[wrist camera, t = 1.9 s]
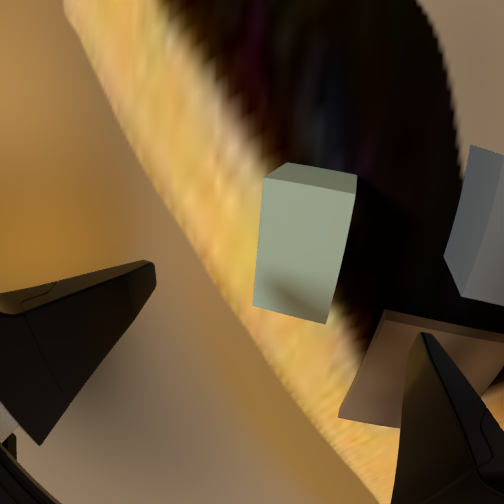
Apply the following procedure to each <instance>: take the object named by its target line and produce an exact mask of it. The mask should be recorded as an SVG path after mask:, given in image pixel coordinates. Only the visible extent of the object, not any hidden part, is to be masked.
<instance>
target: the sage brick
mask: <svg viewBox="0 0 504 504" xmlns="http://www.w3.org/2000/svg"><path fill="white" fill-rule="evenodd" d="M356 184H357V175H353V174H348V173H343V172H338V171H333V170H328V169H322V168H317V167H311V166H305V165H299V164H293V163H286V164H284V165H283V166H281V167H279V168H278V169H276V170H275V171H273V172H271V173H270V174H268V175H267V176H265V177H263V188H262V200H261V212H260V224H259V235H258V247H257V259H256V270H255V281H254V293H253V304H252V306H256V307H259V308H263V309H267V310H271V311H274V312H278V313H282V314H286V315H290V316H294V317H298V318H302V319H306V320H310V321H314V322H318V323H322V324H326V321H327V318H328V314H329V310H330V307H331V303H332V299H333V295H334V291H335V288H336V284H337V279H338V275H339V271H340V267H341V263H342V259H343V254H344V250H345V245H346V241H347V236H348V231H349V226H350V221H351V216H352V211H353V206H354V201H355V195H356Z"/></svg>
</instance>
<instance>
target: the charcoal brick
mask: <svg viewBox="0 0 504 504" xmlns="http://www.w3.org/2000/svg"><path fill="white" fill-rule="evenodd" d="M464 177H465V180H464V184H463V189H462V193H461V197H460V202H459V206H458V209H457V213H456V217H455V221H454V224H453V228H452V231H451V235H450V238H449V241H448V244H447V247H446V251H445V254H444V258H445V261H446V263H447V265H448V267H449V269H450V271H451V274H452V276H453V278H454V281H455V283H456V285H457V288H458V290H459V292H460V295H461V296H462V297H466V298H471V299H476V300H480V301H485V302H489V303H494V304H498V305H503V306H504V156H503V155H501V154H498V153H495V152H492V151H489V150H486V149H483V148H480V147H476V146H473V145H470V149H469V154H468V160H467V166H466V171H465V176H464Z"/></svg>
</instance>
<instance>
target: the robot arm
mask: <svg viewBox="0 0 504 504" xmlns="http://www.w3.org/2000/svg"><path fill="white" fill-rule="evenodd" d="M155 287H156V273H155V265H154V263H152V262H150V261H146V260H141V261H136V262H132V263H128V264H124V265H120V266H115V267H111V268H107V269H103V270H99V271H95V272H91V273H87V274H83V275H80V276H75V277H71V278H67V279H63V280H59V281H58V282H57V281H55V282H51V283H48V284H43V285H39V286H35V287H31V288H25V289H20V290H15V291H10V292H5V293H0V504H61V503H60V502H59V501H58V500H57V499H55V498H54V497H53V496H52V495H51V494H50V493H49V492H48V491H46V490H45V489H44V488H43V487H42V486H41V485H40V484H39V483H38V482H37V481H36V480H35V479H34V478H33V477H32V476H31V475H30V474H29V473H28V472H27V471H26V470H25V469H24V468H23V467H22V466H21V465H20V464H19V463H18V462H17V456H16V455H17V452H16V436H15V435H14V434H13V431H14V430H15V429H16V428H17V427H18V426H20V427H21V429H22V430H23V431H24V432H25V433H26V434H27V435H28V436H29V437H30V438H31V439H32V440H33V441H34V442H35V443H36V444H38V445H39V446H40V445H41V444H42V443H43V442H44V440H45V439H46V437H47V436H48V434H49V433H50V432H51V430H52V429H53V427H54V426H55V425H56V423H57V422H58V420H59V419H60V417H61V416H62V415H63V413H64V412H65V411H66V409H67V408H68V406H69V405H70V403H71V402H72V401H73V399H74V398H75V396H76V395H77V394H78V392H79V391H80V390H81V388H82V387H83V386H84V384H85V383H86V382H87V380H88V379H89V378H90V376H91V375H92V374H93V372H94V371H95V370H96V368H97V367H98V366H99V365H100V363H101V362H102V361H103V359H104V358H105V357H106V355H107V354H108V353H109V352H110V350H111V349H112V348H113V347H114V345H115V344H116V342H117V341H118V340H119V339H120V338H121V336H122V335H123V334H124V333H125V331H126V330H127V329H128V328H129V326H130V325H131V324H132V322H133V321H134V320H135V318H136V317H137V315H138V314H139V312H140V311H141V309H142V308H143V306H144V305H145V303H146V302H147V300H148V299H149V297H150V296H151V294H152V292H153V291H154V289H155ZM391 504H504V431H503V430H502V429H501V427H500V426H499V424H498V423H497V421H496V420H495V418H494V417H493V416H492V414H491V413H490V411H489V410H488V408H486V405H485V404H484V402H483V401H482V399H481V398H480V397H479V395H478V394H477V392H476V391H475V390H474V388H473V387H472V385H471V384H470V383H469V381H468V380H467V378H466V377H465V376H464V374H463V373H462V372H461V370H460V369H459V368H458V366H457V365H456V364H455V362H454V361H453V360H452V358H451V357H450V356H449V355H448V353H447V352H446V351H445V349H444V348H443V347H442V346H441V344H440V343H439V342H438V341H437V339H436V338H435V337H434V336H433V334H431V333H426V332H420V333H419V334H418V335H417V337H416V339H415V341H414V343H413V345H412V347H411V349H410V351H409V354H408V358H407V367H406V375H405V383H404V390H403V397H402V412H401V428H400V440H399V450H398V459H397V467H396V474H395V481H394V488H393V493H392V499H391Z"/></svg>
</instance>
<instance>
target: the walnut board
mask: <svg viewBox="0 0 504 504" xmlns="http://www.w3.org/2000/svg"><path fill="white" fill-rule="evenodd" d="M420 332H426V333H431V334H433V336H434V337H435V338H436V339H437V341H438V342H439V343H440V344H441V346H442V347H443V348H444V349H445V351H446V352H447V353H448V355H449V356H450V357H451V358H452V360H453V361H454V362H455V364H456V365H457V366H458V368H459V369H460V370H461V372H462V373H463V374H464V376H465V377H466V378H467V380H468V381H469V383H470V384H471V385H472V387H473V388H474V390H475V391H476V392H477V394H478V395H479V397H480V396H481V395H482V394H483V393H484V391H485V390H486V389H487V388H488V386H489V385H490V384H491V383H492V381H493V380H494V379H495V377H496V376H497V374H498V373H499V372H500V370H501V369H502V368H503V366H504V334H500V333H495V332H490V331H485V330H480V329H475V328H470V327H465V326H460V325H455V324H450V323H446V322H441V321H436V320H432V319H427V318H422V317H418V316H413V315H409V314H404V313H400V312H395V311H391V310H386V309H384V312H383V314H382V317H381V319H380V322H379V324H378V327H377V329H376V332H375V334H374V336H373V339H372V341H371V343H370V346H369V348H368V350H367V353H366V355H365V357H364V359H363V362H362V364H361V366H360V368H359V370H358V372H357V374H356V376H355V379H354V381H353V383H352V385H351V387H350V389H349V391H348V393H347V395H346V397H345V399H344V400H343V402H342V404H341V406H340V409H339V414H338V418H343V419H348V420H353V421H358V422H363V423H369V424H374V425H380V426H387V427H394V428H401V412H402V397H403V390H404V383H405V375H406V367H407V358H408V354H409V351H410V349H411V347H412V345H413V343H414V341H415V339H416V337H417V335H418V334H419V333H420Z"/></svg>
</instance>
